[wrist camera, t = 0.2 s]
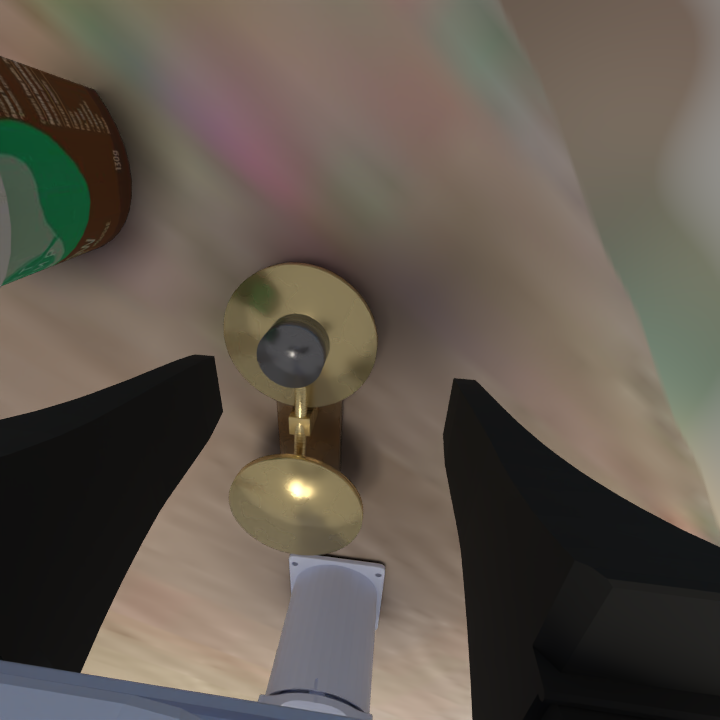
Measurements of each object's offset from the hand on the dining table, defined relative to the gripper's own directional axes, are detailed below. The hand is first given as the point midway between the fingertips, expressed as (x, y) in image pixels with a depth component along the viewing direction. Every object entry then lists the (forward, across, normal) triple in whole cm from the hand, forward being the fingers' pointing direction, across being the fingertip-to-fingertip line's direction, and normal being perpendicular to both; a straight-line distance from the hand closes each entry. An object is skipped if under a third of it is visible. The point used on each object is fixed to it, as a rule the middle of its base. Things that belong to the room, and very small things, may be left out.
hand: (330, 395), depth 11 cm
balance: (+10, +3, +7) cm, 13 cm away
